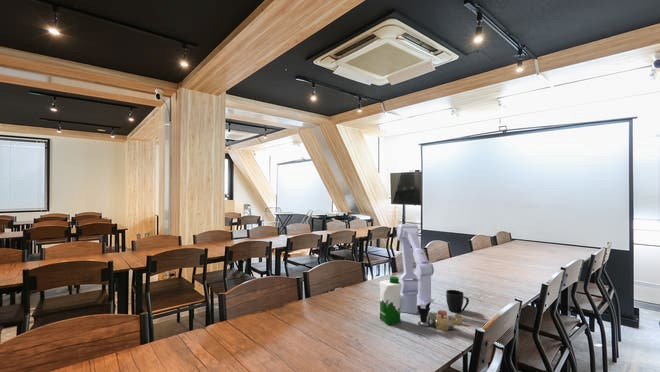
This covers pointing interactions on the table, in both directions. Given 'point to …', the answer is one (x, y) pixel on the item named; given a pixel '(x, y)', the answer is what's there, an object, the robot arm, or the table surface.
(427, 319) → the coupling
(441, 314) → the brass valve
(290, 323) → the table surface
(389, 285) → the milk carton
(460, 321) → the elbow
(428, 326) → the pad
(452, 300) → the mug
